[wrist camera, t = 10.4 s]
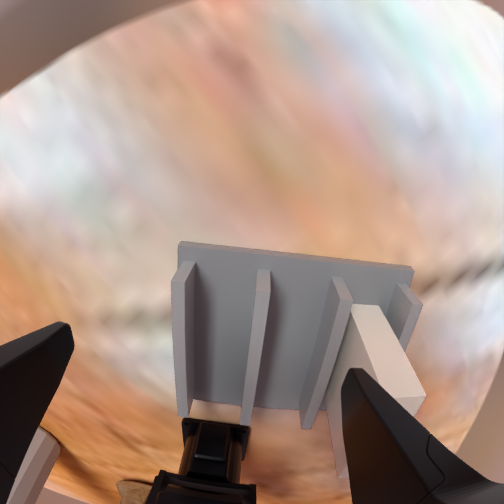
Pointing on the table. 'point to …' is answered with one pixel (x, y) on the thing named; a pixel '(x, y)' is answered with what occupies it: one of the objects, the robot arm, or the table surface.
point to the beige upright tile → (369, 370)
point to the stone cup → (133, 492)
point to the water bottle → (35, 468)
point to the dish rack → (272, 323)
